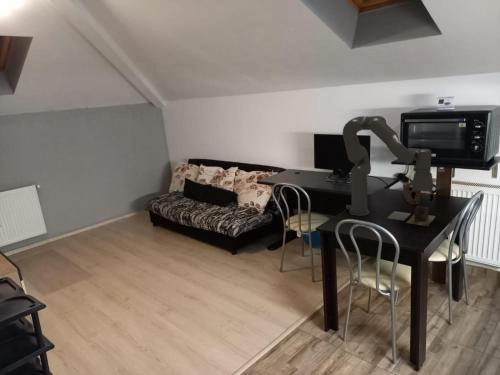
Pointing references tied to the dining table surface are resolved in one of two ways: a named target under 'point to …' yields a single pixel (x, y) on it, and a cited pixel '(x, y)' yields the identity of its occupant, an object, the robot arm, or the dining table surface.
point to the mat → (399, 215)
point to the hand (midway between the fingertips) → (422, 199)
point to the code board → (426, 223)
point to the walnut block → (421, 213)
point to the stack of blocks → (408, 194)
